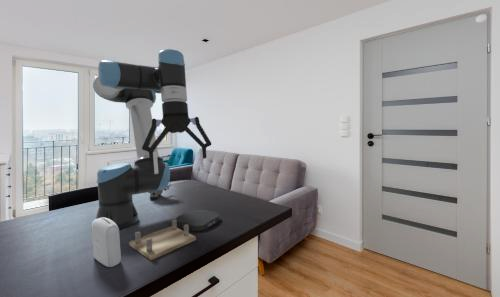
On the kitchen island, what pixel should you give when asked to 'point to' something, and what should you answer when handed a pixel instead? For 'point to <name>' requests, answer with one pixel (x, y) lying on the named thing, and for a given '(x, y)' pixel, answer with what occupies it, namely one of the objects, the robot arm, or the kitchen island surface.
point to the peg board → (162, 241)
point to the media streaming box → (197, 219)
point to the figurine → (157, 193)
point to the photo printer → (106, 241)
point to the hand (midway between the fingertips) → (179, 171)
